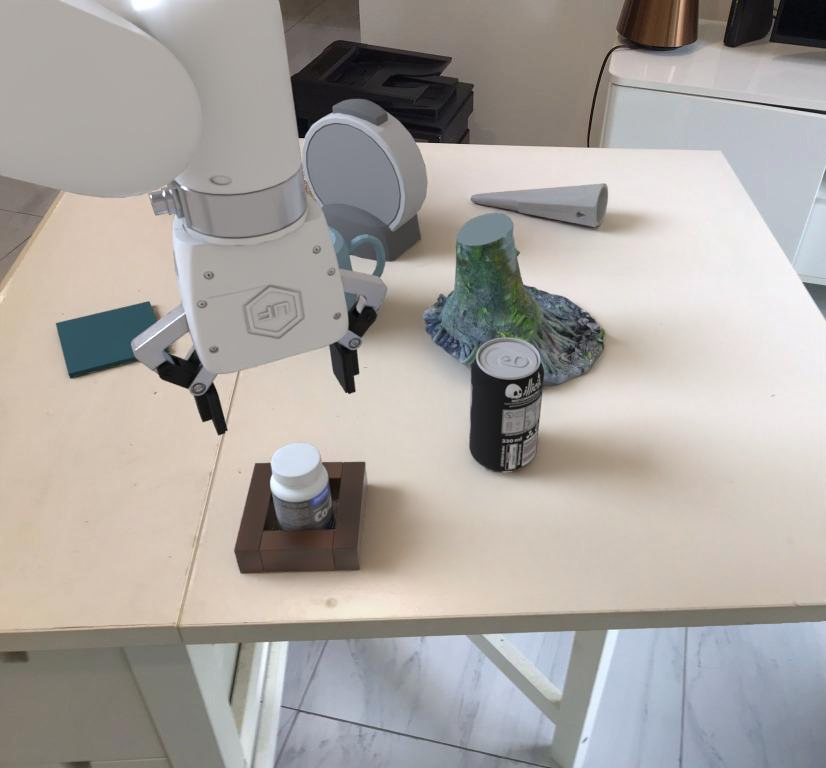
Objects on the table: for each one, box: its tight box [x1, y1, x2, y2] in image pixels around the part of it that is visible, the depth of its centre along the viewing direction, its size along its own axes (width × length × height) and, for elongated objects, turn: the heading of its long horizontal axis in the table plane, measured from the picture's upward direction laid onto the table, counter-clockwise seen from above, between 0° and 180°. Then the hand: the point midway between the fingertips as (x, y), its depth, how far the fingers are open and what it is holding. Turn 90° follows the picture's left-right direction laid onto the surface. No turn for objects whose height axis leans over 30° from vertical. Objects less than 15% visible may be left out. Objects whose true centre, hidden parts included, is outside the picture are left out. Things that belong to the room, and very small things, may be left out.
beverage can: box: [468, 338, 544, 473], centre depth 75 cm, size 7×7×12 cm
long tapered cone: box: [470, 183, 609, 228], centre depth 116 cm, size 6×6×19 cm
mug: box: [328, 226, 386, 312], centre depth 92 cm, size 15×11×10 cm
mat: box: [55, 300, 170, 379], centre depth 89 cm, size 10×10×1 cm
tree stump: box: [422, 212, 606, 387], centre depth 88 cm, size 18×20×18 cm
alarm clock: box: [301, 98, 429, 262], centre depth 103 cm, size 16×10×18 cm, turn 62°
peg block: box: [233, 461, 368, 574], centre depth 70 cm, size 10×10×3 cm
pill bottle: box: [270, 442, 335, 531], centre depth 68 cm, size 5×5×8 cm
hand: (283, 402), depth 60 cm, fingers open, 9 cm apart
